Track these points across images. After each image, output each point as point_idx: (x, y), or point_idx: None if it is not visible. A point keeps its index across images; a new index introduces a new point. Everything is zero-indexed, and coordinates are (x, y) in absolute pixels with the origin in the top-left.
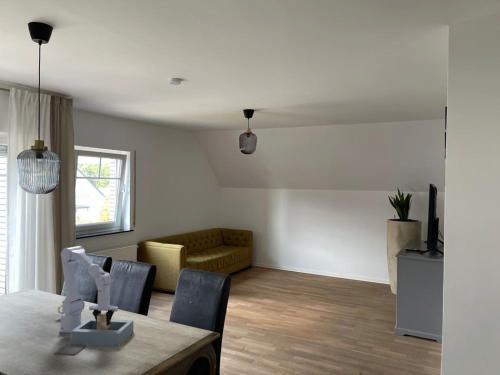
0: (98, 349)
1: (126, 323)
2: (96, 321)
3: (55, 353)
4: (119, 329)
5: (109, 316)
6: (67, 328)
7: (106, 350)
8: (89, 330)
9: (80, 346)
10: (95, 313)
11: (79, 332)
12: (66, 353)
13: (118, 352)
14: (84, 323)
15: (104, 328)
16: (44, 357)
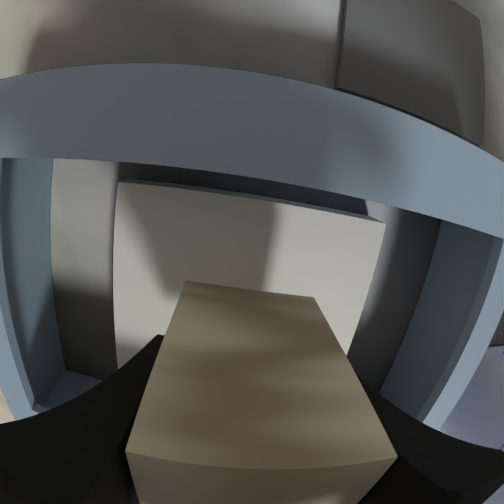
0: (195, 19)
1: (21, 386)
2: (360, 381)
3: (470, 14)
4: None
5: (37, 416)
6: (498, 364)
7: (122, 12)
8: (395, 170)
9: (377, 68)
10: (461, 478)
11: (478, 151)
12: None
13: (41, 10)
14: (455, 387)
15: (200, 290)
16: (488, 3)
